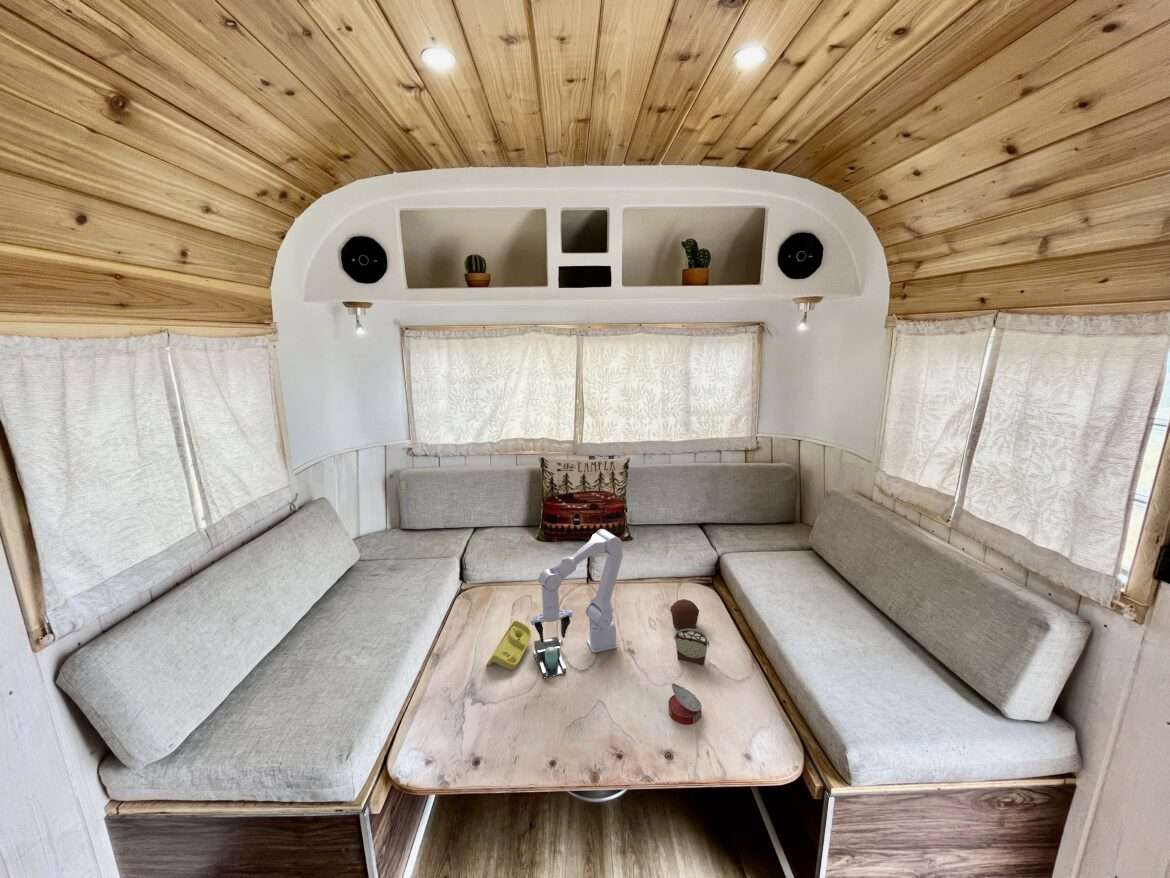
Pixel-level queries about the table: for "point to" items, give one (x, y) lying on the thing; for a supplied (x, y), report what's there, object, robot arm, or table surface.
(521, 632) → the plastic component
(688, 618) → the muffin
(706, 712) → the table surface
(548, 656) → the teal rounded cylinder
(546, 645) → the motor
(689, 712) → the canned food
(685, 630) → the food container
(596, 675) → the table surface
